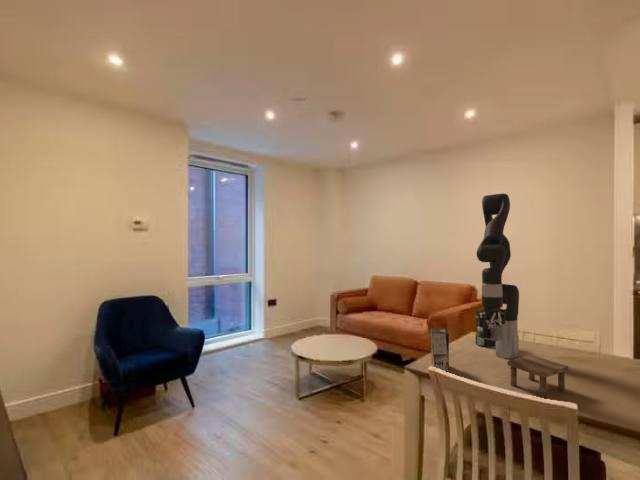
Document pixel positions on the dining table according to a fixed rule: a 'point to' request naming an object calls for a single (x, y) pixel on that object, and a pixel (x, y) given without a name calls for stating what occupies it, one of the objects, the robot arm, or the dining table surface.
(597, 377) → the dining table surface
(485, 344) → the coffee jar
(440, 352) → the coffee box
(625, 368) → the dining table surface
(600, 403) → the dining table surface
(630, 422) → the dining table surface
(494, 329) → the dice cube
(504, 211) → the robot arm
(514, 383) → the footstool
